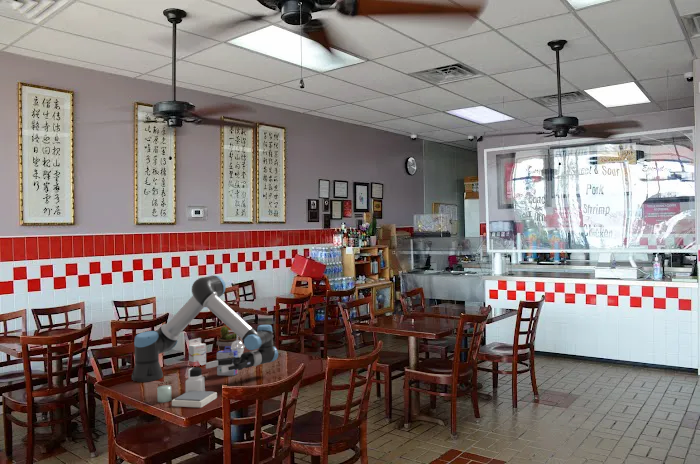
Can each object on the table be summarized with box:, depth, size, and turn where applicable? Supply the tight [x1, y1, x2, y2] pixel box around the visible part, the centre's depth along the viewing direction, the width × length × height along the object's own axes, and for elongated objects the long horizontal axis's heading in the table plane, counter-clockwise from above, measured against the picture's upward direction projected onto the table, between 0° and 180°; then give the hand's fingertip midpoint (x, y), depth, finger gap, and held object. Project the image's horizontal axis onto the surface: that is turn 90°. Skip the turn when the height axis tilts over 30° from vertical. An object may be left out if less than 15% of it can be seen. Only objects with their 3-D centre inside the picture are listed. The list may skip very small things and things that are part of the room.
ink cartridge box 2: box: [216, 346, 239, 377], centre depth 286 cm, size 10×6×14 cm, turn 78°
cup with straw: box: [228, 329, 246, 357], centre depth 307 cm, size 8×9×20 cm
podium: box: [171, 390, 218, 409], centre depth 240 cm, size 14×14×3 cm
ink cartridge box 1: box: [188, 337, 207, 368], centre depth 309 cm, size 9×5×15 cm, turn 141°
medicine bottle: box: [184, 366, 206, 393], centre depth 252 cm, size 7×7×12 cm
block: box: [156, 384, 173, 403], centre depth 244 cm, size 6×6×6 cm
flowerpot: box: [215, 324, 243, 351], centre depth 326 cm, size 14×15×20 cm
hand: (213, 367), depth 259 cm, fingers open, 13 cm apart
